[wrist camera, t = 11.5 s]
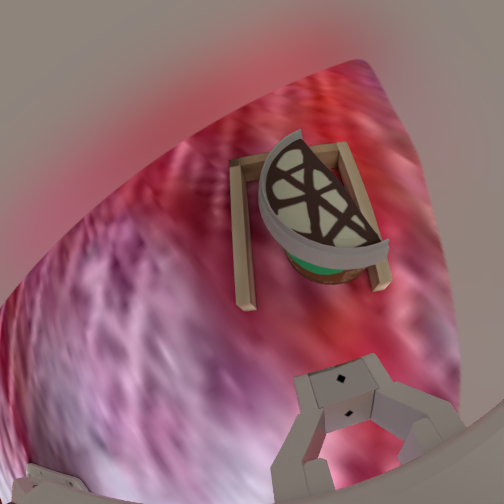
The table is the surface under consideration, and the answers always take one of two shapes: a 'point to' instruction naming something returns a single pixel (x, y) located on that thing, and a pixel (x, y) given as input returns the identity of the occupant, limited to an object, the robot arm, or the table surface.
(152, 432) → the table surface
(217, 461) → the table surface
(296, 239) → the food container
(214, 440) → the table surface
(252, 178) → the wooden u-shaped frame
